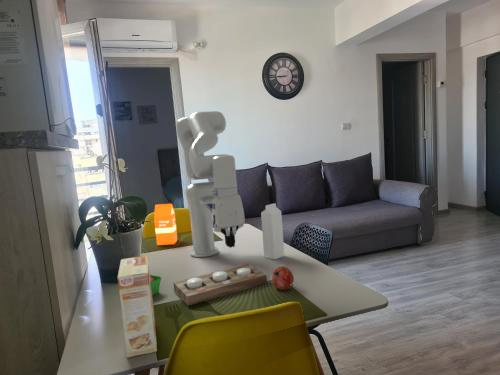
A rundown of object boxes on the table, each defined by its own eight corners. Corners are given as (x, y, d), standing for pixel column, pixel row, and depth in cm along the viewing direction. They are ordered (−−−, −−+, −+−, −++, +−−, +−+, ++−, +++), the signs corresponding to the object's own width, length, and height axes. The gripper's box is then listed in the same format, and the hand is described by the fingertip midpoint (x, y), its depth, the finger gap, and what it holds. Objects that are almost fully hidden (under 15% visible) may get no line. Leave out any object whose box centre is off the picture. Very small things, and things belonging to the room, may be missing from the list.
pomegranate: (281, 288, 121) (260, 277, 116) (292, 269, 122) (272, 258, 117) (294, 298, 115) (273, 287, 110) (305, 278, 115) (285, 266, 110)
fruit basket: (137, 305, 111) (133, 270, 110) (118, 300, 116) (114, 267, 114) (164, 291, 120) (160, 259, 119) (146, 287, 125) (142, 256, 124)
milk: (284, 256, 148) (281, 203, 145) (274, 260, 144) (271, 206, 141) (273, 253, 153) (270, 202, 150) (263, 257, 149) (260, 204, 146)
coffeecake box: (157, 351, 85) (148, 272, 82) (125, 358, 83) (115, 277, 80) (155, 322, 99) (148, 254, 97) (128, 328, 97) (120, 258, 95)
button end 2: (234, 276, 126) (234, 270, 125) (246, 273, 128) (246, 266, 128) (241, 280, 122) (240, 273, 121) (253, 277, 124) (253, 270, 124)
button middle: (210, 280, 121) (210, 273, 121) (223, 276, 124) (223, 270, 123) (216, 284, 117) (216, 277, 117) (229, 281, 119) (229, 274, 119)
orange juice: (174, 244, 180) (170, 204, 177) (156, 245, 180) (152, 206, 177) (177, 239, 187) (173, 202, 185) (160, 241, 188) (156, 203, 185)
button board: (174, 290, 120) (173, 281, 120) (247, 271, 133) (246, 263, 133) (188, 305, 108) (187, 295, 108) (267, 282, 121) (266, 273, 121)
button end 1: (185, 286, 117) (184, 280, 117) (199, 283, 119) (198, 276, 119) (190, 291, 113) (189, 284, 113) (204, 287, 115) (204, 281, 115)
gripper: (210, 196, 112) (215, 253, 114) (251, 190, 120) (255, 244, 122) (200, 194, 119) (205, 248, 121) (240, 189, 126) (244, 239, 128)
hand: (230, 246), depth 121 cm, fingers closed
